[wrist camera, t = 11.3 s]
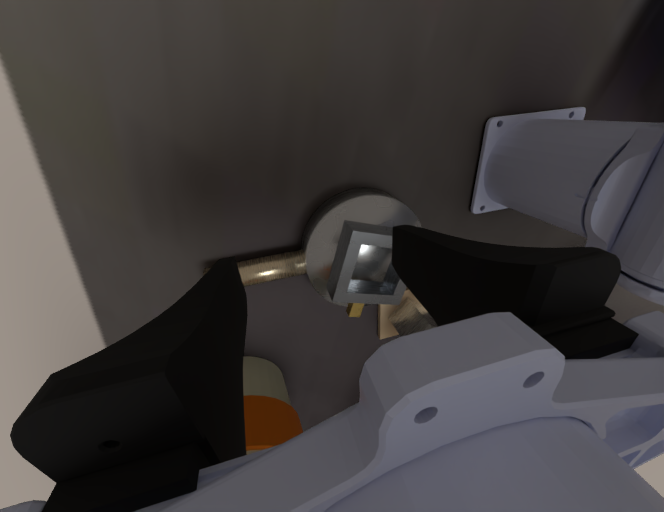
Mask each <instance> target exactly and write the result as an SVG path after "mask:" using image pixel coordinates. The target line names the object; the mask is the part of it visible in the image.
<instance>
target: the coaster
mask: <svg viewBox="0 0 664 512" xmlns="http://www.w3.org/2000/svg"><path fill="white" fill-rule="evenodd" d="M407 297H408V298H410V299H412V300H413V301H415V302H417V303H418V304H420V305H422V304H421V303H420V302H419V301H418V300H417V299H416V297H415V296H414V295H413V294H412V293H411V291H410V290H409V289H408V288H407V287H406V290H405V292H404V295H403V297H402V299H401V302H400V304H401V303H402V302H403V301H404V300H405V299H406V298H407ZM400 304H399V305H400ZM399 305H385V304H378V336H379V338H380V339H384V338H388V337H391V336H395V335H399V333H398V332H397V330H396V329H395V327H394V326H393V324H392V323H391V321H390V319H389V318H388V317H389V316H390V315H391V314H392V313H393V312H394V311H395V310H396V309H397V308H398V306H399Z"/></svg>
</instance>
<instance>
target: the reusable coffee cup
mask: <svg viewBox="0 0 664 512" xmlns="http://www.w3.org/2000/svg"><path fill="white" fill-rule="evenodd" d="M243 394H244V419H245V438H246V454H247V455H248V454H251V453H254V452H257V451H261V450H264V449H267V448H270V447H273V446H276V445H280V444H282V443H284V442H286V441H288V440H290V439H292V438H293V437H295V436H297V435H299V434H301V433H303V430H302V427H301V423H300V420H299V417H298V414H297V412H296V411H295V410H294V409H293V407H292V406H291V404H290V400H289V396H288V393H287V389H286V385H285V381H284V378H283V375H282V372H281V370H280V369H279V368H278V367H277V366H276V365H275V364H274V363H272V362H270V361H268V360H266V359H262V358H259V357H251V356H246V357H243Z"/></svg>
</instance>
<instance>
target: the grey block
mask: <svg viewBox="0 0 664 512" xmlns="http://www.w3.org/2000/svg"><path fill="white" fill-rule="evenodd" d="M388 318H389V319H390V321H391V323H392V324H393V326H394V327H395V329H396V330H397V332H398V333H399V335H400V337H401V336H405V335H409V334H413V333H416V332H420V331H424V330H427V329H431V328H435V327H438V326H437V324H436V322H435V321H434V319H433V318H432V317H431V316H430V314H429V313H428V312H427V310H426V309H425V308H424V307H423V306H422V305H420V304H418V303H417V302H415V301H413V300H412V299H410V298H408V297H407V298H406V299H405V300H404V301H403V302H402V303H401V304H400V305H399V306H398V308H397V309H396V310H395V311H394V312H393V313H392V314H391V315H390V316H389V317H388Z"/></svg>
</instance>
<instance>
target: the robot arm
mask: <svg viewBox="0 0 664 512" xmlns="http://www.w3.org/2000/svg"><path fill="white" fill-rule="evenodd" d="M585 113H586V109H585V107H574V108H566V109H558V110H549V111H541V112H533V113H524V114H516V115H508V116H499V117H492V118H490V119H489V120H488V121H487V123H486V126H485V132H484V137H483V143H482V148H481V154H480V159H479V165H478V170H477V176H476V181H475V187H474V192H473V198H472V203H471V212H472V213H474V214H479V213H484V212H490V211H495V210H500V209H505V208H511V209H513V210H516V211H519V212H521V213H524V214H526V215H529V216H531V217H534V218H537V219H539V220H542V221H544V222H547V223H549V224H552V225H554V226H557V227H560V228H562V229H565V230H567V231H570V232H572V233H575V234H578V235H580V236H583V237H585V238H587V243H586V245H585V247H571V248H534V247H517V246H506V245H497V244H489V243H483V242H477V241H471V240H467V239H462V238H458V237H454V236H450V235H446V234H442V233H438V232H435V231H431V230H428V229H424V228H420V227H416V226H412V225H406V224H404V225H399V226H394V227H393V231H392V263H391V264H392V266H393V268H394V269H395V271H396V273H397V274H398V276H399V278H400V279H401V280H402V282H403V283H404V284H405V285H406V287H407V288H408V289H409V290H410V291H411V293H412V294H413V295H414V296H415V297H416V299H417V300H418V301H419V302H420V303H421V304H422V306H423V307H424V308H425V309H426V310H427V312H428V313H429V314H430V316H431V317H432V318H433V319H434V321H435V322H436V324H437V326H438V327H435V328H431V329H427V330H424V331H420V332H416V333H413V334H409V335H405V336H401V337H399V338H397V339H395V340H392V341H390V342H388V343H386V344H384V345H382V346H380V347H379V348H378V349H377V350H376V351H375V352H374V353H373V354H372V355H371V356H370V357H369V358H368V359H367V361H366V362H365V363H364V367H363V370H362V373H361V376H360V379H359V385H360V399H359V402H358V403H356V404H354V405H353V406H351V407H349V408H347V409H345V410H343V411H342V412H340V413H338V414H336V415H334V416H332V417H330V418H329V419H327V420H325V421H323V422H321V423H319V424H318V425H316V426H314V427H312V428H310V429H308V430H306V431H305V432H303V433H301V434H299V435H297V436H295V437H293V438H292V439H290V440H288V441H286V442H284V443H282V444H280V445H276V446H273V447H270V448H267V449H264V450H261V451H257V452H254V453H251V454H248V455H247V454H246V438H245V419H244V394H243V357H244V346H245V336H246V325H247V298H246V292H245V289H244V286H243V282H242V279H241V276H240V272H239V269H238V266H237V263H236V259H235V256H234V257H229V258H224V259H219V260H218V261H217V262H216V263H215V264H214V265H213V266H212V268H211V269H210V270H209V271H208V272H207V273H206V274H205V275H204V276H203V277H202V278H201V279H200V280H199V281H198V282H197V283H196V284H195V285H194V286H193V287H192V288H191V289H190V290H189V291H188V292H187V293H186V294H185V295H184V296H183V297H182V298H180V299H179V300H178V301H177V302H176V303H175V304H173V305H172V306H171V307H170V308H168V309H167V310H166V311H164V312H163V313H162V314H160V315H159V316H158V317H156V318H155V319H153V320H152V321H150V322H149V323H147V324H146V325H144V326H142V327H141V328H139V329H138V330H136V331H135V332H133V333H132V334H130V335H128V336H126V337H125V338H123V339H121V340H120V341H118V342H116V343H114V344H112V345H110V346H109V347H107V348H105V349H103V350H101V351H99V352H98V353H95V354H93V355H91V356H89V357H87V358H85V359H83V360H81V361H79V362H77V363H75V364H72V365H70V366H68V367H66V368H64V369H62V370H60V371H58V372H55V373H53V374H51V375H50V376H49V378H48V379H47V380H46V382H45V383H44V384H43V386H42V387H41V388H40V390H39V391H38V392H37V394H36V395H35V396H34V398H33V399H32V400H31V402H30V403H29V404H28V406H27V407H26V408H25V410H24V411H23V412H22V414H21V415H20V416H19V417H18V419H17V420H16V422H15V423H14V424H13V427H12V431H11V434H10V437H11V440H12V443H13V446H14V448H15V449H16V450H17V451H18V453H19V454H20V455H21V456H22V457H23V458H24V459H26V460H27V461H28V462H30V463H31V464H32V465H34V466H35V467H36V468H38V469H39V470H40V471H42V472H43V473H44V474H45V475H47V476H48V477H49V478H51V479H52V480H53V481H55V482H56V485H55V487H54V489H53V491H52V493H51V495H50V497H49V499H48V501H47V502H46V501H36V500H33V501H28V502H23V503H20V504H17V505H13V506H10V507H7V508H3V509H0V512H664V498H663V497H662V496H661V495H660V494H659V493H658V492H657V491H656V490H655V489H654V488H652V486H650V485H649V484H648V483H647V482H646V481H645V480H644V479H643V478H642V477H641V476H640V475H639V474H638V473H637V472H636V471H635V470H634V469H635V468H637V467H639V466H640V465H642V464H644V463H646V462H648V461H650V460H652V459H654V458H656V457H658V456H659V455H661V454H663V453H664V313H662V312H660V311H652V312H649V313H646V314H642V315H639V316H636V317H633V318H630V319H628V320H627V321H626V322H624V323H623V324H621V323H619V322H618V321H616V320H614V319H613V318H611V317H614V316H615V314H616V313H615V311H614V310H612V309H610V308H608V307H606V306H605V303H606V302H607V300H608V298H609V296H610V294H611V292H612V290H613V289H614V287H615V285H616V283H617V284H618V285H619V286H621V287H622V288H624V289H625V290H627V291H629V292H631V293H632V294H634V295H637V296H639V297H641V298H643V299H646V300H648V301H651V302H653V303H656V304H659V305H662V306H664V123H647V122H620V121H593V120H583V119H584V116H585ZM498 121H499V124H498V126H497V123H498ZM481 206H482V208H481ZM480 208H481V209H480Z"/></svg>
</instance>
